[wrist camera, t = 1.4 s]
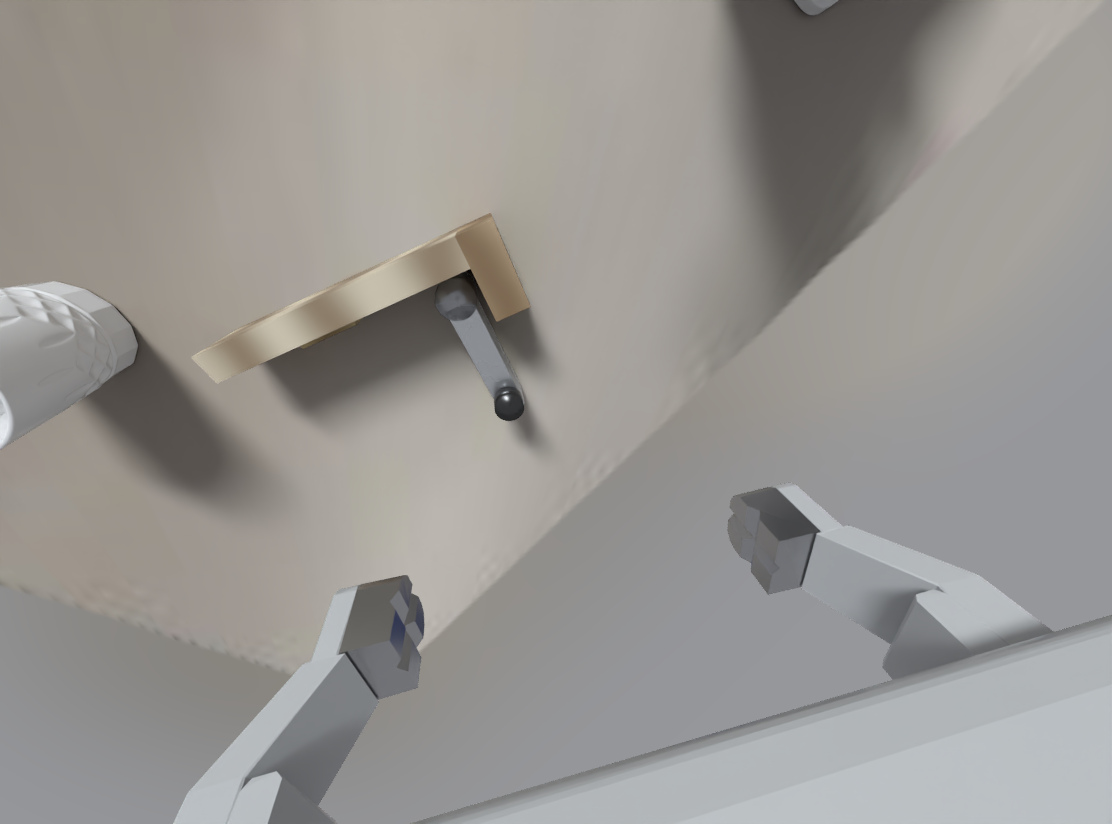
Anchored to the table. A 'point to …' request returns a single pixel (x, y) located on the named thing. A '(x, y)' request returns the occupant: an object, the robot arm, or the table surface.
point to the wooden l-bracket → (374, 297)
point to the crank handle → (481, 343)
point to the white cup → (55, 352)
